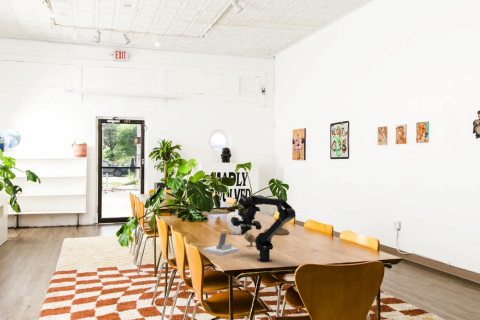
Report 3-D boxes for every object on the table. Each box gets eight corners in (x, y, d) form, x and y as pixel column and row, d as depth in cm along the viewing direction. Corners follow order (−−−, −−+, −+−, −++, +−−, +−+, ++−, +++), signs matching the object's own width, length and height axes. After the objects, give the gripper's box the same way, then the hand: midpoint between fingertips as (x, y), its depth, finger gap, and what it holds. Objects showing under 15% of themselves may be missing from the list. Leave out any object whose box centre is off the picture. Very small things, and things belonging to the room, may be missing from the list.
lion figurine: (244, 247, 294) (244, 233, 294) (244, 245, 300) (244, 232, 299) (266, 247, 294) (267, 233, 294) (266, 245, 300) (266, 232, 300)
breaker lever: (224, 247, 280) (227, 230, 279) (219, 249, 277) (222, 231, 275) (222, 246, 282) (225, 229, 280) (217, 247, 278) (220, 230, 276)
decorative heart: (227, 235, 335) (228, 213, 334) (224, 233, 345) (224, 211, 345) (250, 235, 340) (251, 212, 340) (246, 232, 350) (246, 211, 350)
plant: (289, 232, 359) (289, 218, 359) (289, 236, 340) (289, 221, 340) (264, 231, 361) (264, 217, 361) (263, 235, 342) (263, 220, 342)
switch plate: (239, 251, 280) (239, 243, 280) (222, 255, 268) (222, 247, 268) (220, 247, 290) (220, 240, 290) (203, 251, 278) (203, 243, 278)
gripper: (260, 208, 276) (251, 229, 282) (233, 203, 269) (224, 224, 275) (265, 218, 267) (256, 239, 272) (237, 214, 260) (228, 235, 265)
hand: (241, 234), depth 271 cm, fingers closed
